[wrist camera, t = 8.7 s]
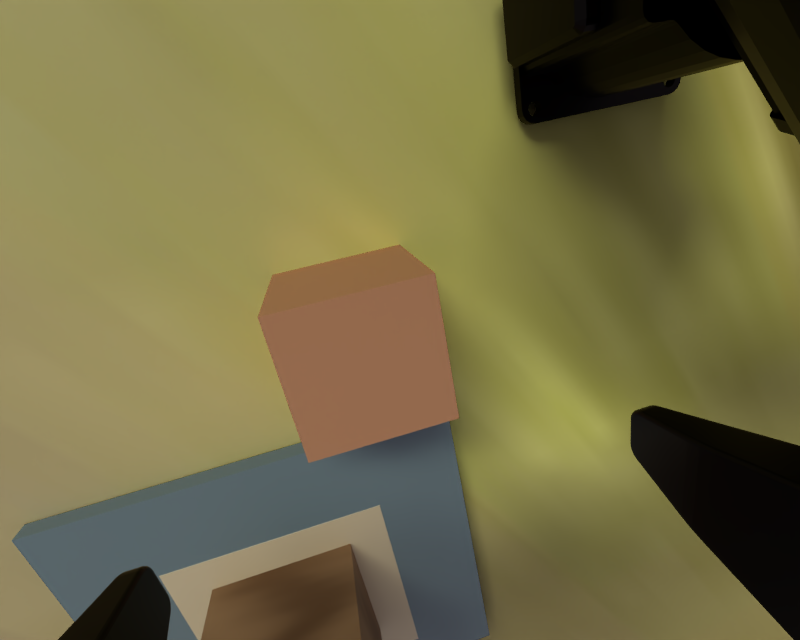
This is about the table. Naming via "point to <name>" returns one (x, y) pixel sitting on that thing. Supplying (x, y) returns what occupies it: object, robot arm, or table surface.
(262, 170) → the table surface
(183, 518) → the mat
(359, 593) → the walnut block
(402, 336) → the terracotta block
